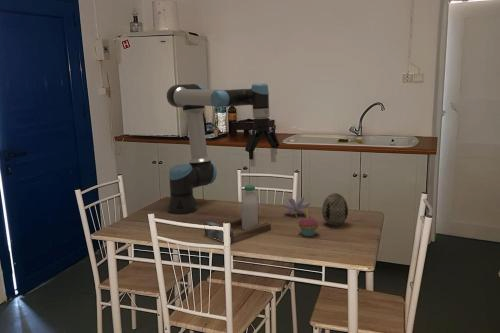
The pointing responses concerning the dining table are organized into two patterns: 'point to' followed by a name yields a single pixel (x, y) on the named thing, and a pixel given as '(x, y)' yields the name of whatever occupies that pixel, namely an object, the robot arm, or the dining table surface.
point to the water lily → (296, 206)
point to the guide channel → (239, 235)
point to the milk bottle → (250, 208)
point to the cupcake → (308, 225)
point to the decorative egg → (335, 209)
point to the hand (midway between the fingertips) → (263, 164)
